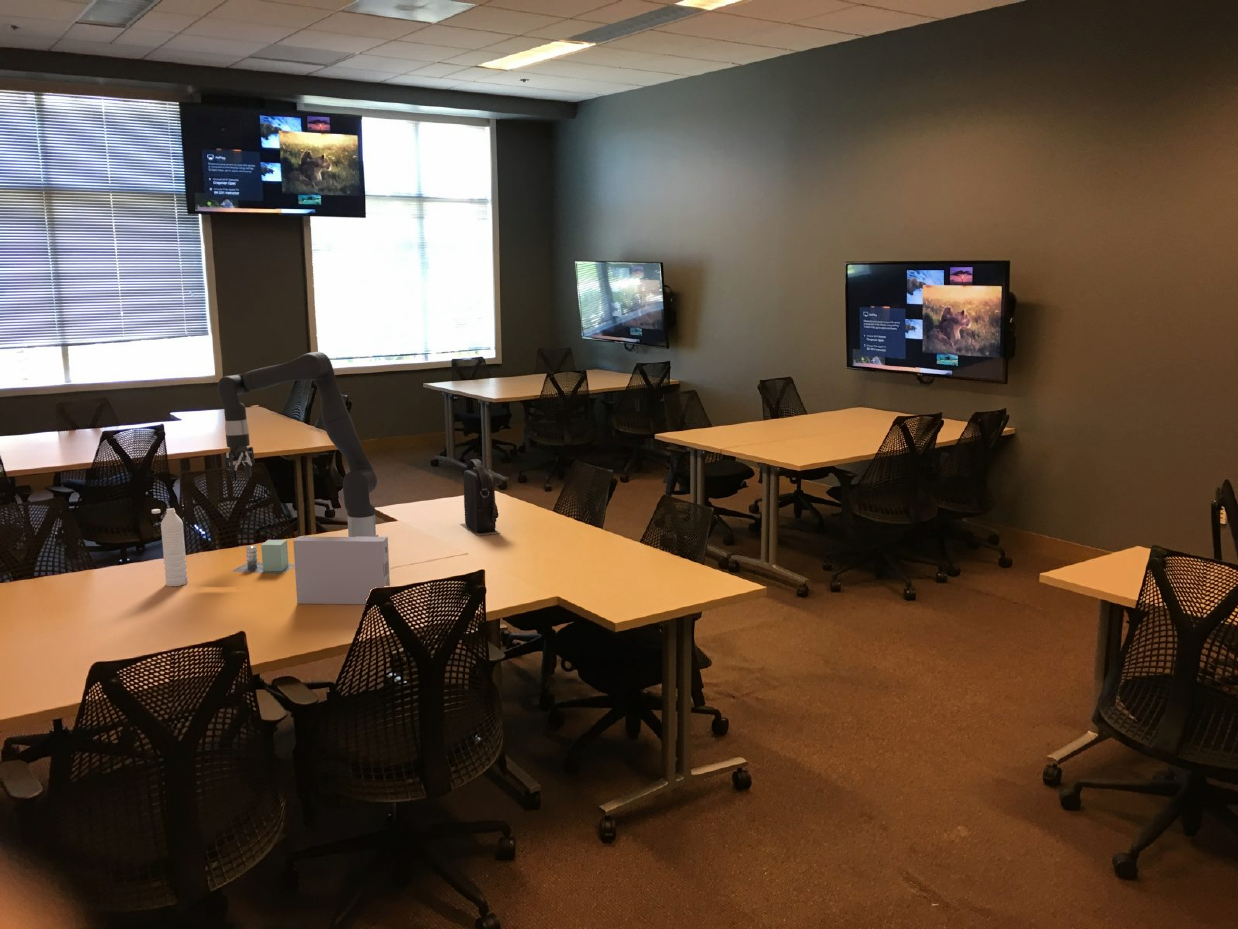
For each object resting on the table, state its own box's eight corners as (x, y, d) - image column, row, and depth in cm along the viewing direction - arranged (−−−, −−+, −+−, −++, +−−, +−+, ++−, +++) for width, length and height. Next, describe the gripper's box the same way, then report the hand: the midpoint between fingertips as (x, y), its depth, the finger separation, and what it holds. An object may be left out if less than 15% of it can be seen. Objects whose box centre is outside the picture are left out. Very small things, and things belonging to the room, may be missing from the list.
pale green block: (288, 565, 335) (286, 539, 333) (282, 571, 329) (280, 544, 327) (269, 565, 335) (268, 539, 333) (262, 571, 329) (261, 544, 327)
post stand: (298, 568, 336) (296, 544, 335) (281, 578, 326) (279, 553, 324) (249, 566, 340) (247, 542, 338) (231, 575, 329) (229, 550, 327)
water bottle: (187, 579, 324) (181, 505, 319) (188, 585, 318) (182, 509, 314) (158, 583, 320) (151, 508, 316) (158, 588, 314) (151, 512, 310)
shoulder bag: (458, 524, 399) (456, 455, 394) (479, 521, 403) (478, 453, 398) (478, 536, 379) (476, 464, 374) (500, 533, 384) (499, 462, 378)
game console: (303, 598, 306) (299, 535, 302) (390, 599, 305) (388, 536, 301) (296, 604, 300) (292, 540, 296) (385, 605, 299) (383, 541, 295)
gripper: (235, 435, 336) (239, 482, 338) (258, 430, 349) (262, 475, 352) (215, 435, 337) (219, 482, 340) (239, 430, 351) (243, 475, 353)
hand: (241, 478), depth 346 cm, fingers open, 8 cm apart
